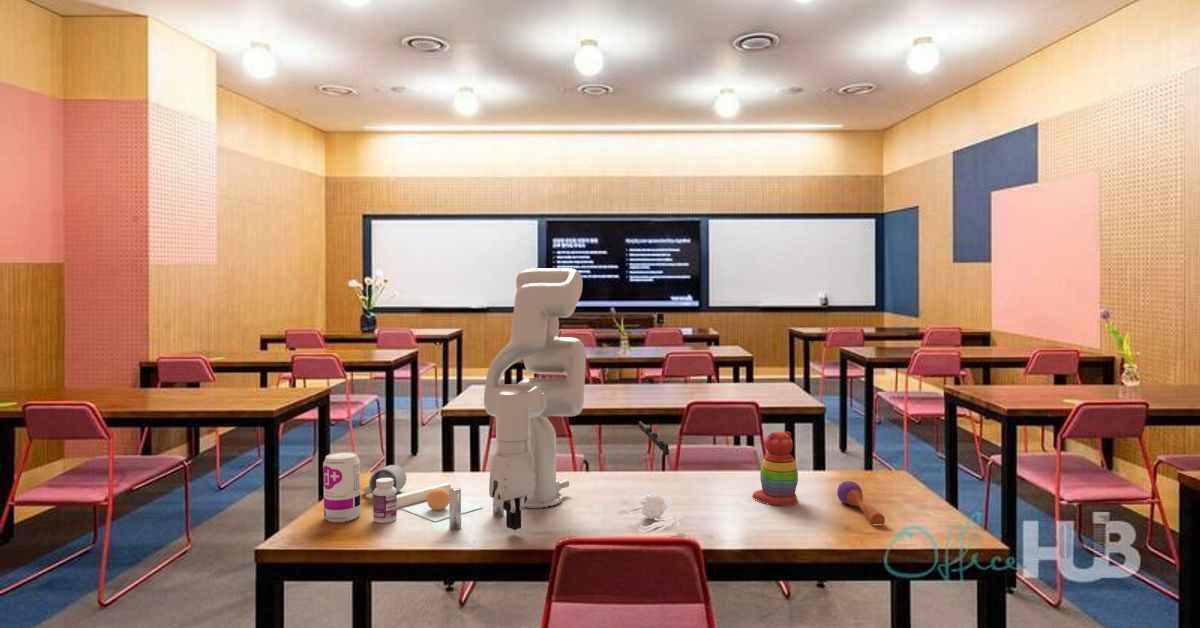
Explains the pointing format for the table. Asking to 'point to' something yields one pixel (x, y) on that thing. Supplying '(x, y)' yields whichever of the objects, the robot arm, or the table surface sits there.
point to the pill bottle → (384, 501)
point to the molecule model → (651, 502)
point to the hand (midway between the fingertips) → (513, 527)
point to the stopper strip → (418, 495)
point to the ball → (438, 499)
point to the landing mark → (436, 516)
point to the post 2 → (498, 511)
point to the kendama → (858, 501)
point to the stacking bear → (778, 471)
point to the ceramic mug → (387, 472)
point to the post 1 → (455, 508)
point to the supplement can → (341, 486)
